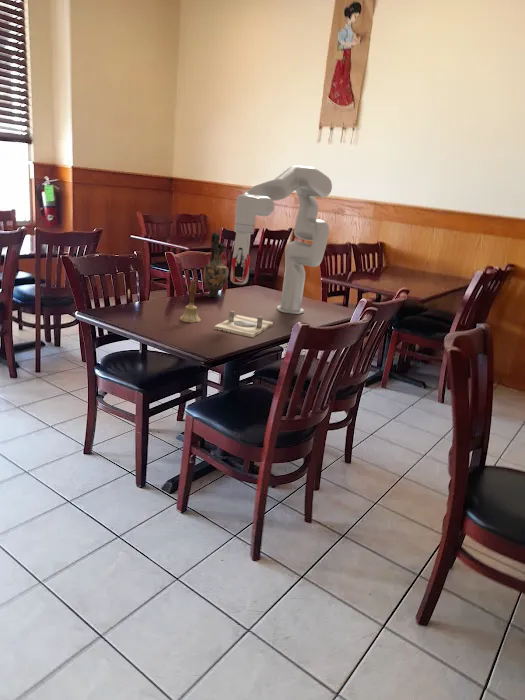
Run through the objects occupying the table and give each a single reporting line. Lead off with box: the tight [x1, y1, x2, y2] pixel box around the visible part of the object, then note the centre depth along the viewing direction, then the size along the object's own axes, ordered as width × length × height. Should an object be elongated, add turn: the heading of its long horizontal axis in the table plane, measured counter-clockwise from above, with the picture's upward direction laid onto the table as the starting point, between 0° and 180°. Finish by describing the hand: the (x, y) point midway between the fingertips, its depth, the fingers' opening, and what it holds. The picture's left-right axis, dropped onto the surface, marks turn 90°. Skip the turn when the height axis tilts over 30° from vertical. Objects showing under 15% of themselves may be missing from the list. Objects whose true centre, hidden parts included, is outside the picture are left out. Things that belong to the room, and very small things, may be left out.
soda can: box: [230, 252, 251, 285], centre depth 194 cm, size 7×7×12 cm
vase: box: [203, 232, 230, 299], centre depth 239 cm, size 12×12×30 cm
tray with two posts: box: [213, 310, 274, 338], centre depth 197 cm, size 22×16×5 cm
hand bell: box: [179, 279, 202, 324], centre depth 196 cm, size 8×8×16 cm
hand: (239, 274), depth 195 cm, fingers closed on soda can, 7 cm apart
